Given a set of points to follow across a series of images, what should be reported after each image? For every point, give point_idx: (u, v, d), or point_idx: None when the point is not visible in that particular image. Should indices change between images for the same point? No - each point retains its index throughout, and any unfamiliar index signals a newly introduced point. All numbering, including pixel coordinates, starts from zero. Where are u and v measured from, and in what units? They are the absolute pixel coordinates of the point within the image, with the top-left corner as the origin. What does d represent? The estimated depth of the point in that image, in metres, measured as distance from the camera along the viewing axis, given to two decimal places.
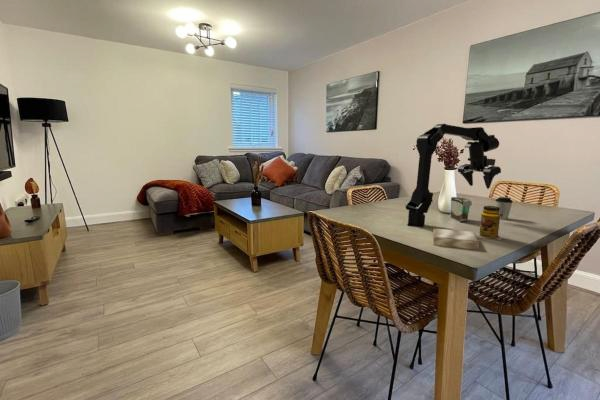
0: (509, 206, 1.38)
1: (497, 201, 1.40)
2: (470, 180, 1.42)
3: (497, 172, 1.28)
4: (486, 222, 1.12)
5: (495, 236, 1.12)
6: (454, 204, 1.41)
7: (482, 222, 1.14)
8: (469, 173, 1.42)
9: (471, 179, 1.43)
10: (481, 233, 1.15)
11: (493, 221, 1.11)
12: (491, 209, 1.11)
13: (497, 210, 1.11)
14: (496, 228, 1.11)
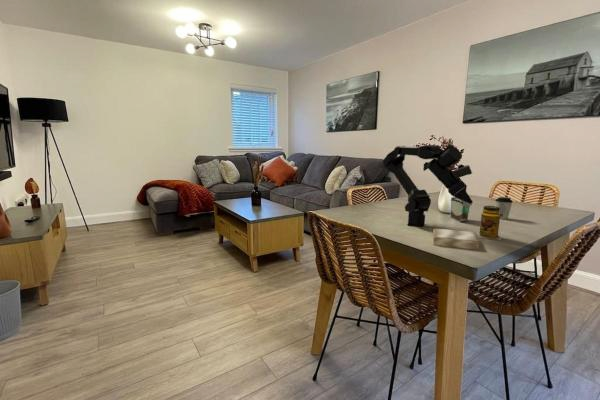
0: (509, 206, 1.38)
1: (497, 201, 1.40)
2: None
3: (459, 188, 1.09)
4: (486, 222, 1.12)
5: (495, 236, 1.12)
6: (454, 204, 1.41)
7: (482, 222, 1.14)
8: None
9: None
10: (481, 233, 1.15)
11: (493, 221, 1.11)
12: (491, 209, 1.11)
13: (497, 210, 1.11)
14: (496, 228, 1.11)
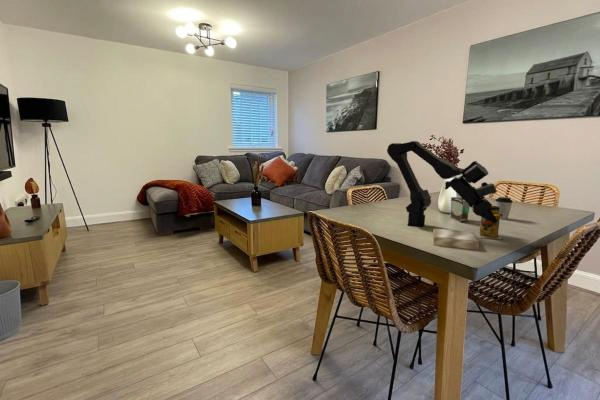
0: (509, 206, 1.38)
1: (497, 201, 1.40)
2: None
3: (484, 208, 1.06)
4: (486, 222, 1.12)
5: (495, 236, 1.12)
6: (454, 204, 1.41)
7: (482, 222, 1.14)
8: None
9: None
10: (481, 233, 1.15)
11: None
12: (491, 209, 1.11)
13: (497, 210, 1.11)
14: (496, 228, 1.12)
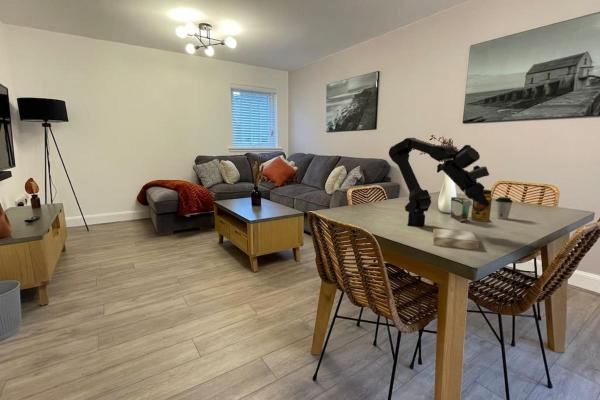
0: (509, 206, 1.38)
1: (497, 201, 1.40)
2: None
3: (477, 191, 1.03)
4: (478, 206, 1.10)
5: (487, 220, 1.10)
6: (454, 204, 1.41)
7: (474, 206, 1.12)
8: None
9: None
10: (473, 217, 1.12)
11: None
12: (483, 192, 1.09)
13: (489, 193, 1.09)
14: (488, 211, 1.10)
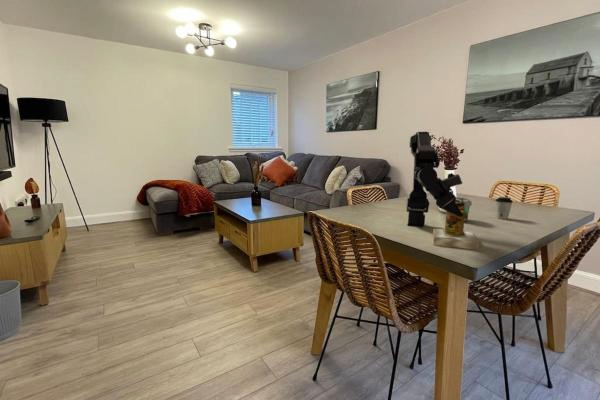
0: (509, 206, 1.38)
1: (497, 201, 1.40)
2: None
3: (447, 200, 0.99)
4: (451, 219, 1.06)
5: (460, 233, 1.06)
6: None
7: (447, 218, 1.08)
8: None
9: None
10: (446, 230, 1.08)
11: (457, 217, 1.05)
12: None
13: (462, 206, 1.04)
14: (461, 225, 1.05)
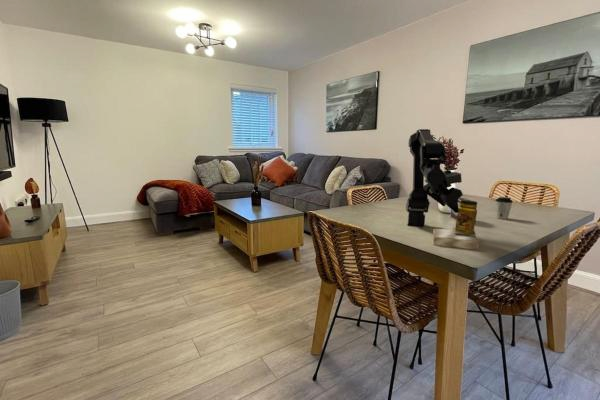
0: (509, 206, 1.38)
1: (497, 201, 1.40)
2: (440, 200, 1.17)
3: (456, 197, 1.02)
4: (461, 217, 1.07)
5: (470, 232, 1.06)
6: None
7: (458, 216, 1.08)
8: (437, 192, 1.17)
9: (441, 199, 1.17)
10: (456, 228, 1.09)
11: (468, 215, 1.05)
12: (468, 203, 1.05)
13: (474, 204, 1.05)
14: (472, 223, 1.06)
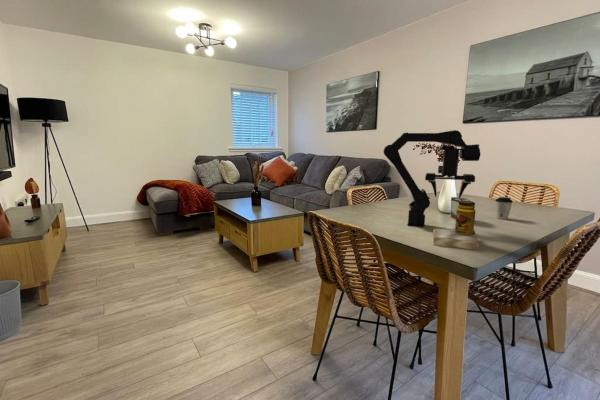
0: (509, 206, 1.38)
1: (497, 201, 1.40)
2: None
3: None
4: (460, 218, 1.07)
5: (470, 233, 1.06)
6: (454, 204, 1.41)
7: (457, 218, 1.08)
8: None
9: None
10: (456, 229, 1.09)
11: (467, 216, 1.05)
12: (465, 204, 1.05)
13: (471, 205, 1.05)
14: (471, 224, 1.06)
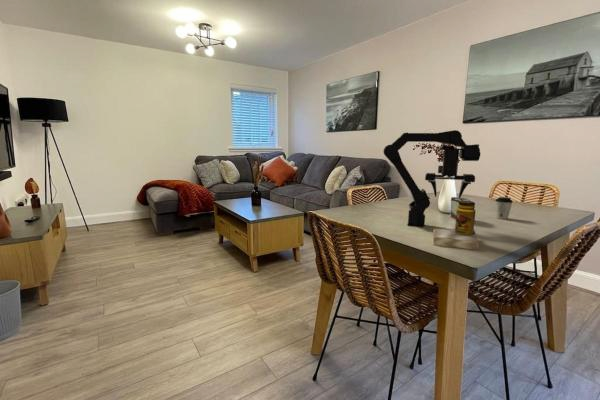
0: (509, 206, 1.38)
1: (497, 201, 1.40)
2: None
3: None
4: (460, 218, 1.07)
5: (470, 233, 1.06)
6: (454, 204, 1.41)
7: (457, 218, 1.08)
8: None
9: None
10: (456, 229, 1.09)
11: (467, 216, 1.05)
12: (465, 204, 1.05)
13: (471, 205, 1.05)
14: (471, 224, 1.06)
